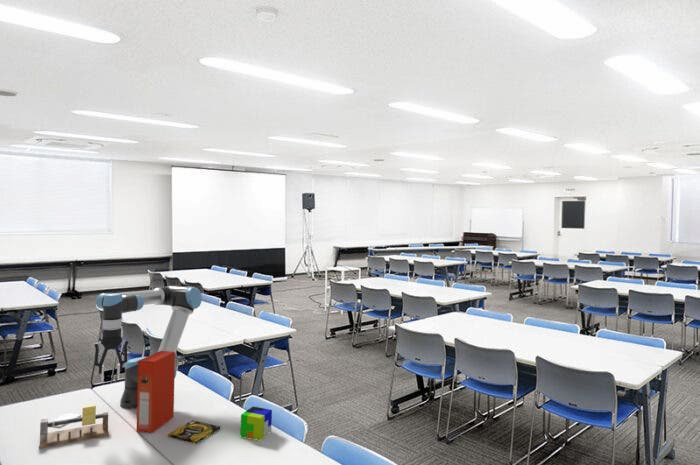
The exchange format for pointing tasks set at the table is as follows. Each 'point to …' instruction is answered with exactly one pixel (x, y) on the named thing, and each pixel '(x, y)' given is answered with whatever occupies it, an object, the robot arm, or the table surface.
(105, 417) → the comb stand
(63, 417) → the external hard drive
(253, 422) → the puzzle toy
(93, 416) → the sleeve
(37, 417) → the table surface
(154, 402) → the file binder
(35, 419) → the table surface
